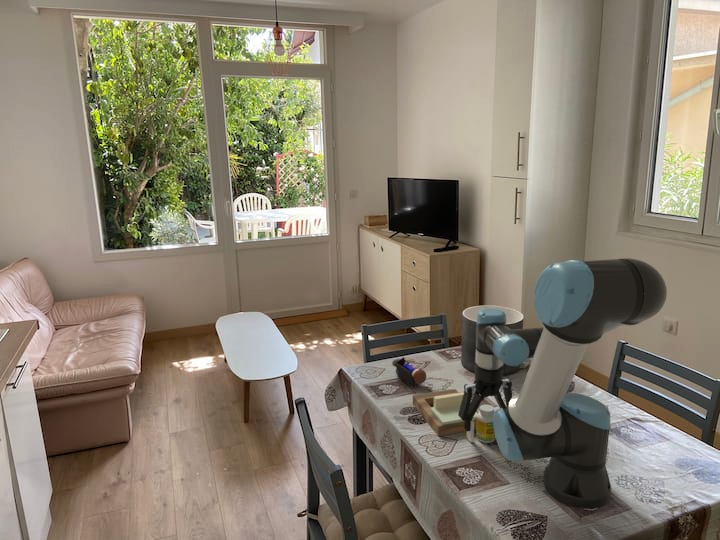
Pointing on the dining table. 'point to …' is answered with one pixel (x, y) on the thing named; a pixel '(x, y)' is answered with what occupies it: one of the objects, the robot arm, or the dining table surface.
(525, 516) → the dining table surface
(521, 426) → the robot arm
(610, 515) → the dining table surface
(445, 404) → the cover
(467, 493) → the dining table surface
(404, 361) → the character figurine
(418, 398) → the board
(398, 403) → the dining table surface
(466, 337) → the planter
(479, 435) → the supplement bottle
